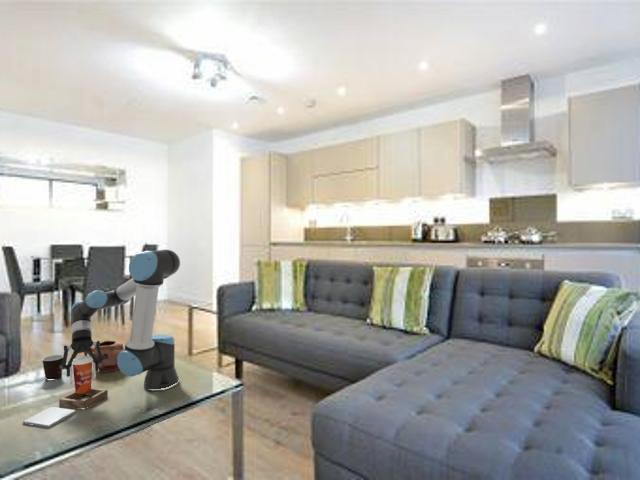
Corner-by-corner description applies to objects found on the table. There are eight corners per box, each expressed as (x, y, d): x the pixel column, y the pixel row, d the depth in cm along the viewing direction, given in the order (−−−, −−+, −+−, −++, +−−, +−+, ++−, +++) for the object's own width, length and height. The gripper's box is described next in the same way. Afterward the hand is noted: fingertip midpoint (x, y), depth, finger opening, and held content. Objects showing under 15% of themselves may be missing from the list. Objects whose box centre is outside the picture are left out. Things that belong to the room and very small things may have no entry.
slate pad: (76, 412, 157) (76, 410, 157) (48, 428, 145) (48, 425, 145) (51, 409, 159) (51, 406, 159) (23, 423, 148) (23, 421, 148)
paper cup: (78, 396, 161) (77, 362, 161) (69, 392, 165) (68, 359, 165) (97, 389, 168) (97, 357, 167) (88, 385, 172) (87, 354, 171)
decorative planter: (80, 376, 193) (79, 348, 192) (87, 367, 205) (86, 340, 204) (124, 372, 199) (124, 344, 198) (129, 363, 211) (128, 337, 210)
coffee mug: (53, 382, 185) (53, 361, 185) (38, 380, 187) (37, 360, 187) (73, 373, 197) (73, 353, 196) (59, 371, 199) (58, 352, 198)
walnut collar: (107, 396, 171) (107, 389, 171) (84, 409, 159) (84, 402, 159) (83, 393, 174) (83, 386, 174) (59, 406, 162) (59, 399, 162)
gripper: (107, 334, 184) (110, 379, 171) (54, 341, 173) (53, 390, 160) (107, 325, 179) (111, 371, 166) (53, 332, 169) (52, 382, 156)
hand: (83, 380), depth 163 cm, fingers closed on paper cup, 8 cm apart
